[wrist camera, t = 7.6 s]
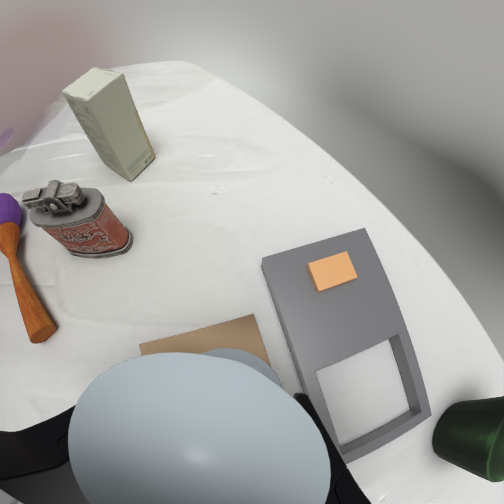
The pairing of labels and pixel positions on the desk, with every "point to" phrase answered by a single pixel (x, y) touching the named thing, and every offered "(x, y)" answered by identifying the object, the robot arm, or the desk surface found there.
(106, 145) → the skincare box
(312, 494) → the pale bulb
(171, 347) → the coaster
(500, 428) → the potion bottle
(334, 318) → the gray switch base
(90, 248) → the lighter
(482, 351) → the desk surface
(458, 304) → the desk surface
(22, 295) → the kendama
